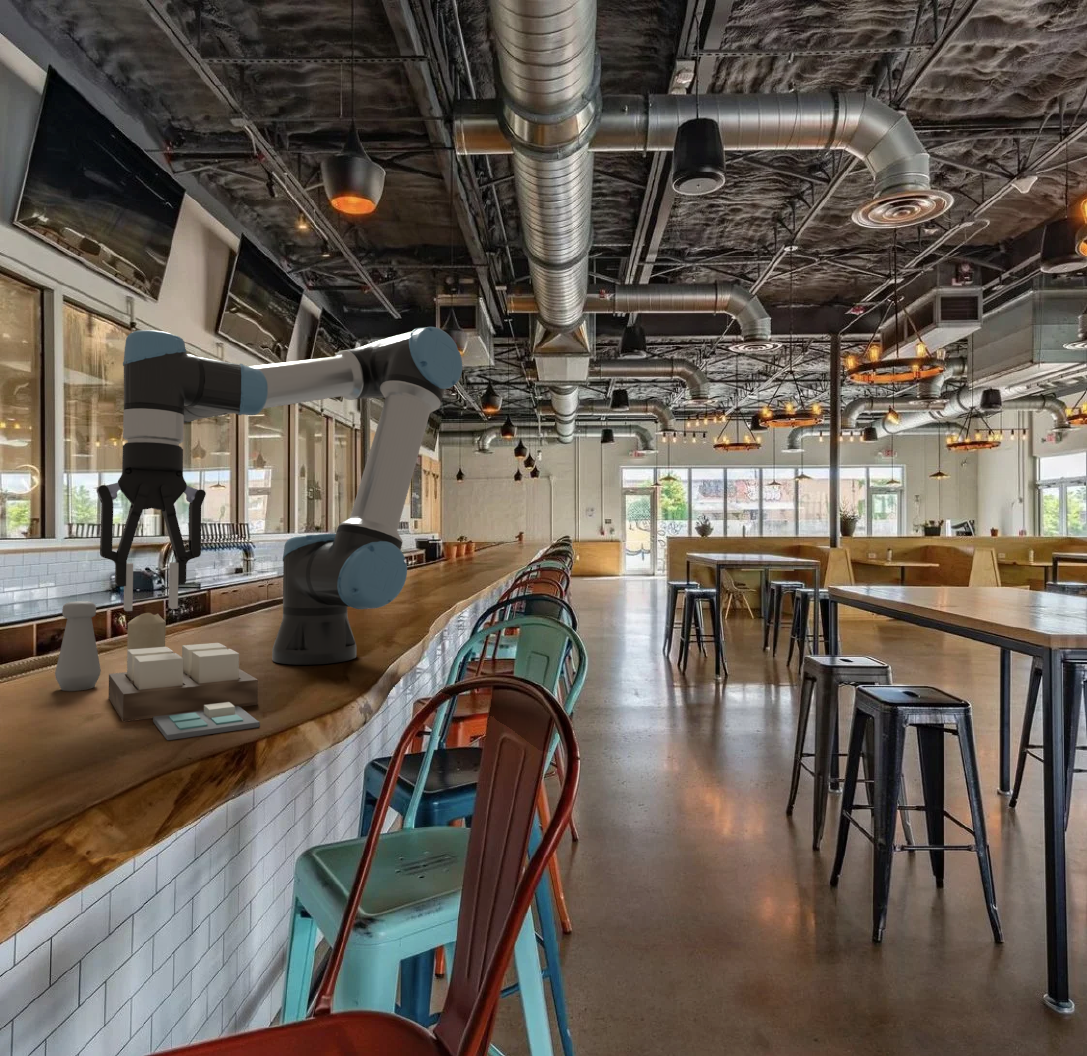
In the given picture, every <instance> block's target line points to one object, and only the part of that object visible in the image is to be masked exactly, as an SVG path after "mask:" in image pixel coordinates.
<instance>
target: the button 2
mask: <svg viewBox="0 0 1087 1056" xmlns="http://www.w3.org/2000/svg"><path fill="white" fill-rule="evenodd" d="M134 685H135V686H136V687H137V689H138V690H143V689H152V688H162V687H171V686H180V685H183V658H182V655H180V654H178V653H176V652H175V653H174V652H173V653H171V654H159V655H147V656H134Z"/></svg>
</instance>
